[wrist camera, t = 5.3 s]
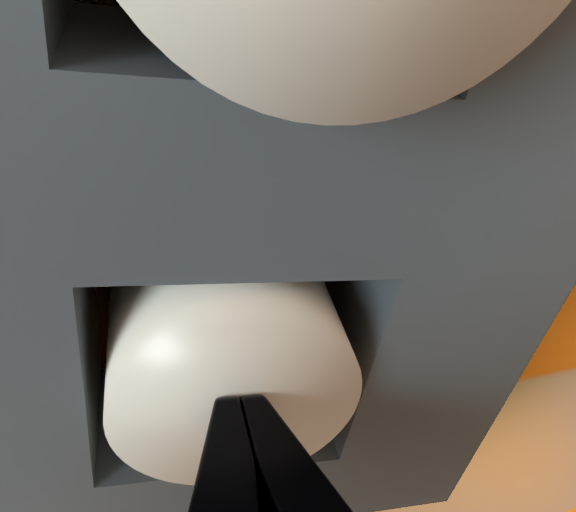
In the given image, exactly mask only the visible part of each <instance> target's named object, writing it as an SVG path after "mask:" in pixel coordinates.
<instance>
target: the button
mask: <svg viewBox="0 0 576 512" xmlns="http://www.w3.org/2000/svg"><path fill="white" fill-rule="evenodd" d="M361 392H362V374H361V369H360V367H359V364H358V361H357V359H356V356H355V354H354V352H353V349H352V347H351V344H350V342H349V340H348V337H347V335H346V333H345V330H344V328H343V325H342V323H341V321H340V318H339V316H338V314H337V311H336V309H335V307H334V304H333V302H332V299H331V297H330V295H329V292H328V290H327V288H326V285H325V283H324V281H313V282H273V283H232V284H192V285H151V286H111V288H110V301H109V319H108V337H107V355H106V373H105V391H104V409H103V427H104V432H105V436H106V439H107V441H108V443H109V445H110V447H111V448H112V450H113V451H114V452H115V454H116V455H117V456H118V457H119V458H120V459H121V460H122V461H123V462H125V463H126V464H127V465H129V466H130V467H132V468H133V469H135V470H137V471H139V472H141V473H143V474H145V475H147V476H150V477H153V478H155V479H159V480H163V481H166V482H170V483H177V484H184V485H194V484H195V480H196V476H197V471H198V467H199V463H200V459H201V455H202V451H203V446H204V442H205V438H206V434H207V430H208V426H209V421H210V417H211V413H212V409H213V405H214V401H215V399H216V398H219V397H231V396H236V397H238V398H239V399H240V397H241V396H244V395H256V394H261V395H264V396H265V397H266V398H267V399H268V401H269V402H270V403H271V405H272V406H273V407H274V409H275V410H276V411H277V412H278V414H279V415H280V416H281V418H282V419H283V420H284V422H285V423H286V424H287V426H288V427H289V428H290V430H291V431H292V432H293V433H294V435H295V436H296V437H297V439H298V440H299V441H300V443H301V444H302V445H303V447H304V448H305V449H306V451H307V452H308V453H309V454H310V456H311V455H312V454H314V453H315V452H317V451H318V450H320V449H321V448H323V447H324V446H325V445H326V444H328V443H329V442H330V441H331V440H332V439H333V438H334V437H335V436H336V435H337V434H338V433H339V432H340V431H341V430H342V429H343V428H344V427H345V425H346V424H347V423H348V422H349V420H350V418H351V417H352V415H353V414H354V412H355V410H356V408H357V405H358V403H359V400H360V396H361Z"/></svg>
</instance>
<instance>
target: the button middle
mask: <svg viewBox="0 0 576 512" xmlns="http://www.w3.org/2000/svg"><path fill="white" fill-rule="evenodd" d="M116 1H117V2H118V3H119V4H120V6H121V7H122V8H123V9H124V11H125V12H126V13H127V14H128V16H129V17H130V18H131V19H132V20H133V22H134V23H135V24H136V25H137V27H138V28H139V29H140V30H141V31H142V33H143V34H144V35H145V36H146V37H147V38H148V39H149V40H150V41H151V42H152V43H153V44H155V45H156V46H157V47H158V48H159V49H160V50H161V51H162V52H163V53H164V54H165V55H166V56H167V57H168V58H169V59H170V60H171V61H172V62H173V63H175V64H176V65H177V66H179V67H180V68H181V69H183V70H184V71H185V72H187V73H188V74H189V75H191V76H192V77H193V78H195V79H196V80H197V81H199V82H200V83H201V84H203V85H205V86H206V87H208V88H210V89H212V90H213V91H215V92H217V93H219V94H220V95H222V96H224V97H226V98H227V99H229V100H231V101H233V102H235V103H238V104H240V105H243V106H245V107H247V108H250V109H252V110H255V111H257V112H260V113H262V114H266V115H269V116H273V117H277V118H281V119H285V120H289V121H293V122H299V123H308V124H316V125H324V126H331V125H361V124H368V123H375V122H382V121H388V120H391V119H395V118H399V117H403V116H406V115H410V114H414V113H417V112H419V111H422V110H425V109H427V108H430V107H432V106H435V105H437V104H440V103H442V102H445V101H447V100H449V99H450V98H452V97H454V96H456V95H458V94H460V93H462V92H464V91H466V90H467V89H469V88H471V87H473V86H475V85H476V84H478V83H479V82H481V81H482V80H484V79H485V78H487V77H488V76H490V75H491V74H493V73H494V72H496V71H497V70H499V69H500V68H502V67H503V66H504V65H505V64H507V63H508V62H509V61H510V60H512V59H513V58H514V57H515V56H516V55H518V54H519V53H520V52H521V51H522V50H524V49H525V48H526V47H527V46H529V45H530V44H531V43H532V42H533V41H534V40H535V39H536V38H537V37H538V36H539V35H540V34H541V33H542V32H543V31H544V30H545V29H546V28H547V27H548V26H549V25H550V24H551V23H552V22H553V21H554V20H555V19H556V18H557V17H558V16H559V15H560V13H561V12H562V11H563V10H564V9H565V8H566V6H567V5H568V4H569V3H570V2H571V0H116Z"/></svg>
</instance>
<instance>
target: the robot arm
mask: <svg viewBox="0 0 576 512" xmlns="http://www.w3.org/2000/svg"><path fill="white" fill-rule="evenodd" d="M188 512H353V511H352V510H351V508H350V507H349V506H348V504H347V503H346V502H345V500H344V499H343V498H342V497H341V495H340V494H339V493H338V491H337V490H336V489H335V487H334V486H333V485H332V483H331V482H330V481H329V479H328V478H327V477H326V476H325V474H324V473H323V472H322V470H321V469H320V468H319V466H318V465H317V464H316V462H315V461H314V460H313V458H312V457H311V456H310V454H309V453H308V452H307V451H306V449H305V448H304V447H303V445H302V444H301V443H300V441H299V440H298V439H297V437H296V436H295V435H294V433H293V432H292V431H291V430H290V428H289V427H288V426H287V424H286V423H285V422H284V420H283V419H282V418H281V416H280V415H279V414H278V412H277V411H276V410H275V409H274V407H273V406H272V405H271V403H270V402H269V401H268V399H267V398H266V397H265V396H264V395H261V394H256V395H244V396H241V397H240V399H239V398H238V397H236V396H231V397H219V398H216V399H215V401H214V405H213V409H212V413H211V417H210V421H209V426H208V430H207V434H206V438H205V442H204V446H203V451H202V455H201V459H200V463H199V467H198V471H197V476H196V480H195V484H194V488H193V492H192V496H191V500H190V505H189V509H188Z"/></svg>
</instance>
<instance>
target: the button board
mask: <svg viewBox="0 0 576 512" xmlns="http://www.w3.org/2000/svg"><path fill="white" fill-rule="evenodd" d="M313 281H324V283H325V285H326V288H327V290H328V292H329V295H330V297H331V299H332V302H333V304H334V307H335V309H336V311H337V314H338V316H339V318H340V321H341V323H342V325H343V328H344V330H345V333H346V335H347V337H348V340H349V342H350V344H351V347H352V349H353V352H354V354H355V356H356V359H357V361H358V364H359V367H360V369H361V374H362V392H361V396H360V400H359V403H358V405H357V408H356V410H355V412H354V414H353V415H352V417H351V418H350V420H349V422H348V423H347V424H346V425H345V427H344V428H343V429H342V430H341V431H340V432H339V433H338V434H337V435H336V436H335V437H334V438H333V439H332V440H331V441H330V442H329V443H328V444H326V445H325V446H324V447H323V448H321V449H320V450H318V451H317V452H315V453H314V454H312V455H311V457H312V458H313V460H314V461H315V462H316V464H317V465H318V466H319V468H320V469H321V470H322V472H323V473H324V474H325V476H326V477H327V478H328V479H329V481H330V482H331V483H332V485H333V486H334V487H335V489H336V490H337V491H338V493H339V494H340V495H341V497H342V498H343V499H344V500H345V502H346V503H347V504H348V506H349V507H350V508H351V510H352V511H353V512H374V511H381V510H387V509H394V508H401V507H408V506H415V505H422V504H428V503H436V502H442V501H447V500H448V498H449V496H450V494H451V493H452V491H453V490H454V488H455V486H456V485H457V483H458V481H459V479H460V478H461V476H462V474H463V473H464V471H465V469H466V468H467V466H468V464H469V462H470V461H471V459H472V458H473V456H474V454H475V452H476V451H477V449H478V447H479V446H480V444H481V442H482V441H483V439H484V437H485V436H486V434H487V432H488V430H489V429H490V427H491V425H492V424H493V422H494V420H495V418H496V417H497V415H498V413H499V412H500V410H501V408H502V407H503V405H504V403H505V401H506V400H507V398H508V397H509V395H510V393H511V391H512V390H513V388H514V386H515V385H516V383H517V381H518V380H519V378H520V376H521V375H522V373H523V371H524V370H525V368H526V366H527V364H528V363H529V361H530V359H531V358H532V356H533V354H534V353H535V351H536V349H537V348H538V346H539V344H540V342H541V341H542V339H543V337H544V336H545V334H546V332H547V331H548V329H549V327H550V326H551V324H552V322H553V321H554V319H555V317H556V315H557V314H558V312H559V310H560V309H561V307H562V305H563V304H564V302H565V300H566V299H567V297H568V295H569V293H570V292H571V290H572V288H573V287H574V285H575V283H576V0H571V2H570V3H569V4H568V5H567V6H566V8H565V9H564V10H563V11H562V12H561V13H560V15H559V16H558V17H557V18H556V19H555V20H554V21H553V22H552V23H551V24H550V25H549V26H548V27H547V28H546V29H545V30H544V31H543V32H542V33H541V34H540V35H539V36H538V37H537V38H536V39H535V40H534V41H533V42H532V43H531V44H530V45H529V46H527V47H526V48H525V49H524V50H522V51H521V52H520V53H519V54H518V55H516V56H515V57H514V58H513V59H512V60H510V61H509V62H508V63H507V64H505V65H504V66H503V67H502V68H500V69H499V70H497V71H496V72H494V73H493V74H491V75H490V76H488V77H487V78H485V79H484V80H482V81H481V82H479V83H478V84H476V85H475V86H473V87H471V88H469V89H467V90H466V91H464V92H462V93H460V94H458V95H456V96H454V97H452V98H450V99H449V100H447V101H445V102H442V103H440V104H437V105H435V106H432V107H430V108H427V109H425V110H422V111H419V112H417V113H414V114H410V115H406V116H403V117H399V118H395V119H391V120H388V121H382V122H375V123H368V124H361V125H331V126H324V125H316V124H308V123H299V122H293V121H289V120H285V119H281V118H277V117H273V116H269V115H266V114H262V113H260V112H257V111H255V110H252V109H250V108H247V107H245V106H243V105H240V104H238V103H235V102H233V101H231V100H229V99H227V98H226V97H224V96H222V95H220V94H219V93H217V92H215V91H213V90H212V89H210V88H208V87H206V86H205V85H203V84H201V83H200V82H199V81H197V80H196V79H195V78H193V77H192V76H191V75H189V74H188V73H187V72H185V71H184V70H183V69H181V68H180V67H179V66H177V65H176V64H175V63H173V62H172V61H171V60H170V59H169V58H168V57H167V56H166V55H165V54H164V53H163V52H162V51H161V50H160V49H159V48H158V47H157V46H156V45H155V44H153V43H152V42H151V41H150V40H149V39H148V38H147V37H146V36H145V35H144V34H143V33H142V31H141V30H140V29H139V28H138V27H137V25H136V24H135V23H134V22H133V20H132V19H131V18H130V17H129V16H128V14H127V13H126V12H125V11H124V9H123V8H122V7H117V6H107V5H98V4H88V3H79V2H74V0H0V512H188V509H189V505H190V500H191V496H192V492H193V488H194V485H184V484H177V483H170V482H166V481H163V480H159V479H155V478H153V477H150V476H147V475H145V474H143V473H141V472H139V471H137V470H135V469H133V468H132V467H130V466H129V465H127V464H126V463H125V462H123V461H122V460H121V459H120V458H119V457H118V456H117V455H116V454H115V452H114V451H113V450H112V448H111V447H110V445H109V443H108V441H107V439H106V436H105V432H104V427H103V409H104V391H105V373H106V369H101V357H100V343H99V330H98V317H97V303H96V290H95V287H111V286H151V285H192V284H232V283H273V282H313Z"/></svg>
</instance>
